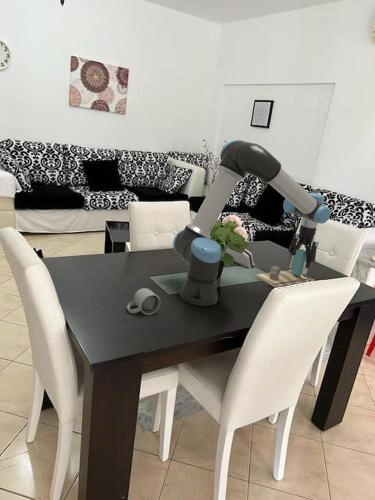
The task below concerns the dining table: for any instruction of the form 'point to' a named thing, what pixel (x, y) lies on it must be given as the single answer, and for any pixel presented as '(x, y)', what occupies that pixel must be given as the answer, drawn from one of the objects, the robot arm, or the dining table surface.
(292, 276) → the hole board
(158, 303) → the ceramic mug
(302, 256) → the block
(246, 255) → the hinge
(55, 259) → the dining table surface
